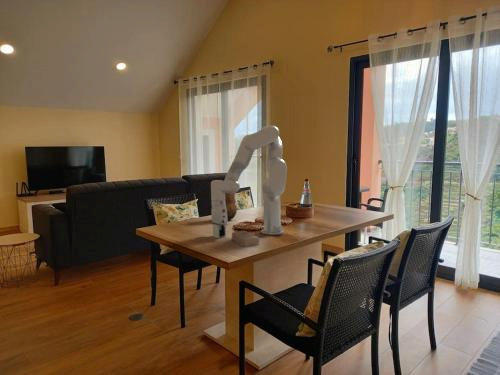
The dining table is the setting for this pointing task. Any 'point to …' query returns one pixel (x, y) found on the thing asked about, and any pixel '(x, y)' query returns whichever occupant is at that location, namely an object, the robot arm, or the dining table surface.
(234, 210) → the brown oblong lump
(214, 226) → the block
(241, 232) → the brick
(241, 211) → the dining table surface
